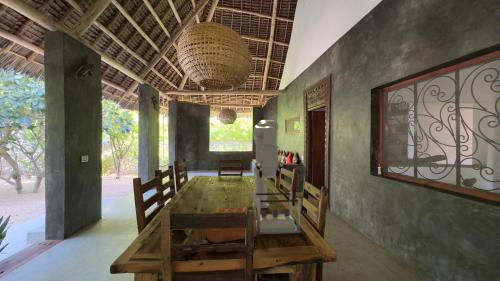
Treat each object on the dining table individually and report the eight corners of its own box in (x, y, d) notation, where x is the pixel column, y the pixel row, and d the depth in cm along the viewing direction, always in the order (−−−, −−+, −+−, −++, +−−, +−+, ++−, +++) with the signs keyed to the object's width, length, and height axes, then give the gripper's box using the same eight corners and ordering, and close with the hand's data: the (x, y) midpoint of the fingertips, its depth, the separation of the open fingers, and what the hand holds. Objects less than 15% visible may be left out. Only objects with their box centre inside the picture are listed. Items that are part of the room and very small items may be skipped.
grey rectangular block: (261, 216, 135) (261, 209, 136) (266, 216, 136) (265, 209, 137) (261, 217, 134) (261, 209, 135) (266, 216, 134) (266, 209, 135)
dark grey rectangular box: (272, 216, 136) (272, 209, 137) (277, 216, 136) (277, 209, 138) (273, 216, 135) (273, 209, 136) (278, 216, 135) (277, 209, 136)
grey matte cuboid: (284, 216, 137) (283, 209, 138) (288, 216, 137) (288, 209, 138) (285, 216, 135) (284, 209, 137) (289, 216, 136) (289, 209, 137)
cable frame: (252, 222, 143) (253, 191, 142) (290, 221, 146) (291, 191, 145) (257, 234, 126) (257, 199, 125) (300, 232, 129) (301, 199, 128)
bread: (258, 238, 121) (259, 209, 121) (208, 245, 113) (209, 214, 112) (250, 228, 134) (251, 202, 134) (205, 233, 126) (205, 205, 126)
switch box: (257, 224, 139) (257, 214, 139) (289, 223, 142) (289, 213, 142) (260, 231, 130) (260, 220, 129) (294, 230, 132) (294, 219, 132)
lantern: (172, 246, 128) (195, 247, 106) (169, 215, 133) (190, 210, 111) (185, 242, 133) (209, 242, 111) (181, 212, 137) (204, 207, 116)
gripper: (282, 147, 137) (281, 176, 137) (253, 147, 134) (253, 176, 135) (285, 148, 129) (285, 178, 130) (256, 148, 127) (255, 178, 127)
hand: (268, 177), depth 132 cm, fingers open, 9 cm apart
